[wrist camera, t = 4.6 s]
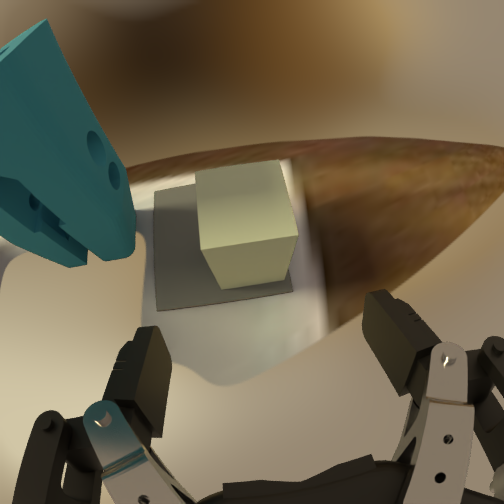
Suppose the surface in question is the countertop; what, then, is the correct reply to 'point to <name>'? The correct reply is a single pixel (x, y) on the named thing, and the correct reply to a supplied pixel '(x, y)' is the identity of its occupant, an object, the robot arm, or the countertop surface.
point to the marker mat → (191, 258)
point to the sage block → (245, 223)
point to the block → (57, 160)
